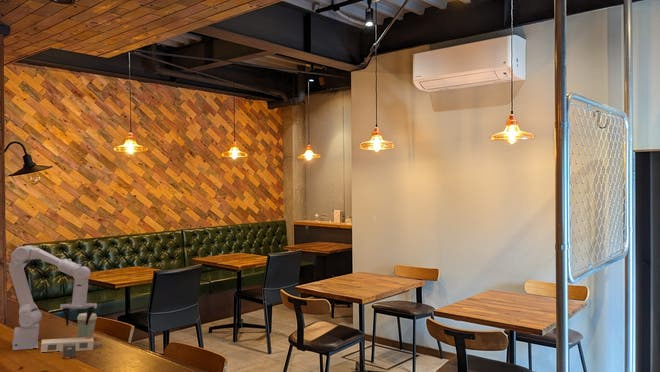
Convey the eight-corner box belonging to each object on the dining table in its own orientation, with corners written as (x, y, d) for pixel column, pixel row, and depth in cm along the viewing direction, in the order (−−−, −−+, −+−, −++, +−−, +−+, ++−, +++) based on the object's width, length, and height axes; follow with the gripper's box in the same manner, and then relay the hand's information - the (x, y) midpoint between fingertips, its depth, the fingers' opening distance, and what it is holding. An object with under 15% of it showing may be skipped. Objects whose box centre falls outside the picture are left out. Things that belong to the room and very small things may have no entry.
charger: (62, 358, 201) (63, 346, 202) (62, 355, 206) (63, 343, 206) (74, 358, 204) (75, 345, 204) (73, 354, 208) (75, 342, 209)
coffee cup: (86, 343, 227) (89, 316, 228) (70, 341, 228) (73, 314, 229) (98, 339, 235) (101, 313, 236) (83, 337, 237) (85, 311, 238)
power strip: (40, 353, 207) (41, 342, 207) (40, 349, 213) (41, 338, 213) (103, 349, 219) (104, 338, 219) (101, 345, 225) (102, 335, 225)
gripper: (61, 295, 213) (58, 327, 212) (98, 295, 220) (95, 326, 219) (61, 293, 219) (58, 324, 218) (97, 292, 226) (94, 322, 225)
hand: (76, 325), depth 219 cm, fingers open, 7 cm apart
